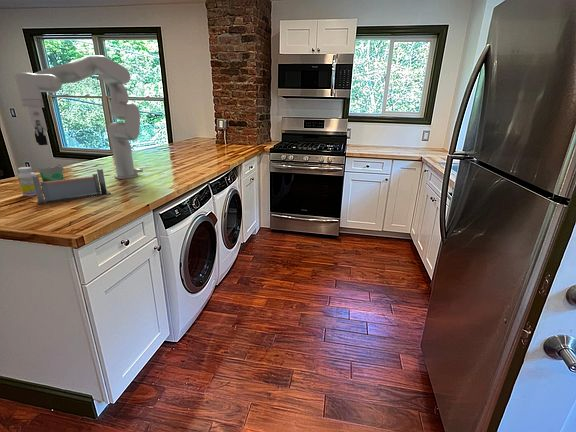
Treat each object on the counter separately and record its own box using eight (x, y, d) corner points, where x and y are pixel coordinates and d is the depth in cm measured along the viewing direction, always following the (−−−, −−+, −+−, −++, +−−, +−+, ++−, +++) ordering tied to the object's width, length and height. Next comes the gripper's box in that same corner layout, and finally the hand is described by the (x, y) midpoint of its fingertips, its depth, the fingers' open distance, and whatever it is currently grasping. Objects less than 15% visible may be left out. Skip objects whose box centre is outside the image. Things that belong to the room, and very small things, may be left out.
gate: (99, 191, 150) (96, 173, 147) (100, 192, 149) (97, 174, 145) (44, 199, 136) (39, 180, 132) (45, 200, 134) (40, 180, 131)
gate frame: (107, 191, 154) (102, 167, 150) (110, 194, 150) (106, 170, 146) (37, 201, 136) (30, 175, 131) (39, 205, 132) (32, 178, 127)
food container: (52, 188, 155) (47, 169, 151) (42, 187, 156) (37, 168, 153) (72, 183, 166) (68, 164, 163) (63, 182, 167) (59, 164, 164)
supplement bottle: (29, 192, 148) (22, 166, 144) (44, 192, 149) (37, 166, 144) (19, 196, 142) (11, 169, 137) (34, 196, 142) (27, 169, 138)
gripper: (45, 104, 129) (54, 145, 135) (41, 103, 141) (50, 141, 146) (22, 103, 124) (33, 146, 130) (20, 103, 136) (30, 142, 142)
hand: (42, 143), depth 138 cm, fingers open, 9 cm apart
